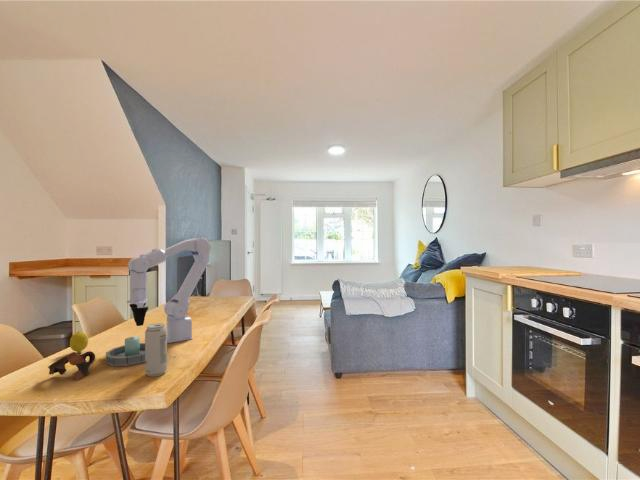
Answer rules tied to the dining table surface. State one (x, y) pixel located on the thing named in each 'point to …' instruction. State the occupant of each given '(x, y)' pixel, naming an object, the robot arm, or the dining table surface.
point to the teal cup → (132, 346)
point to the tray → (118, 357)
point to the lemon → (79, 341)
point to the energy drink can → (155, 350)
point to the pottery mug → (74, 360)
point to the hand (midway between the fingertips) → (138, 323)
